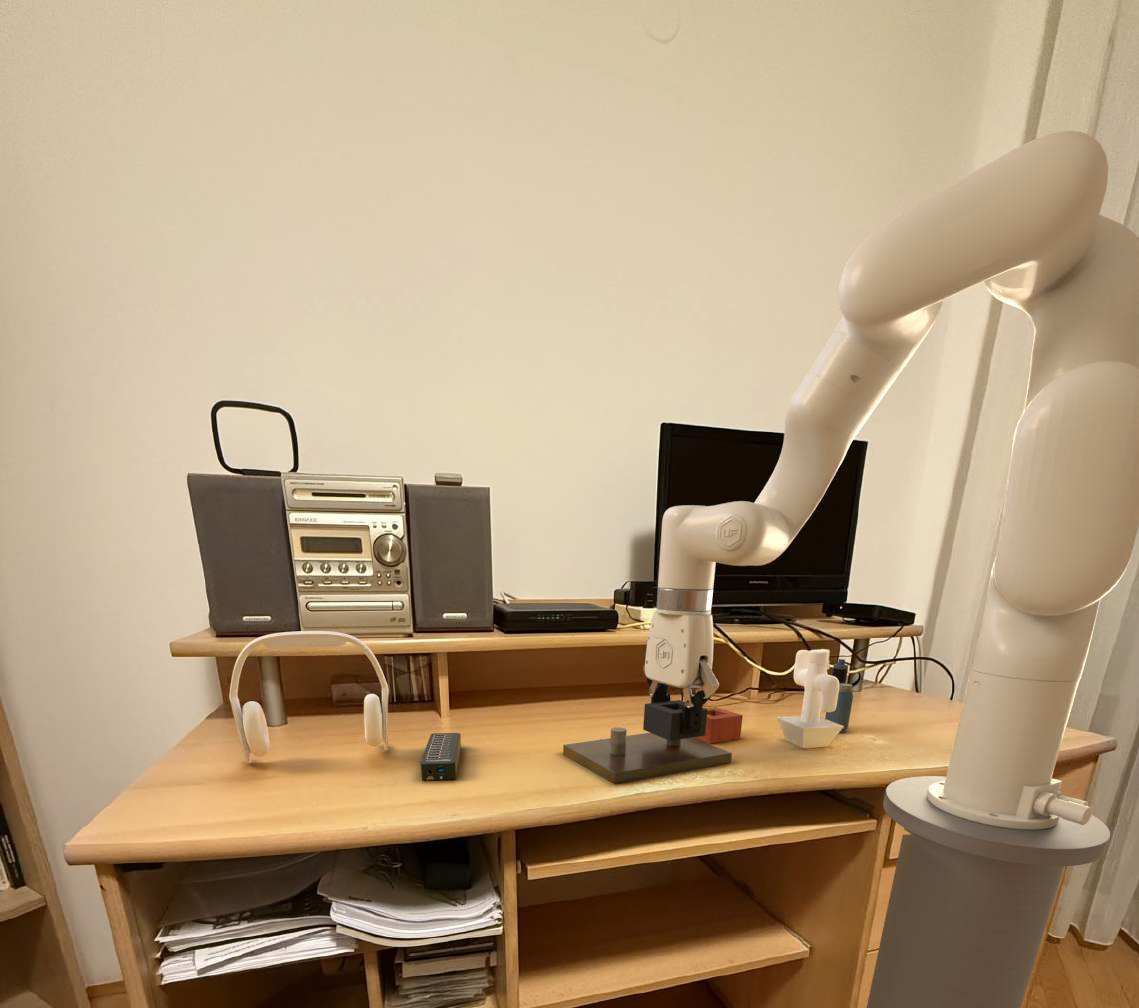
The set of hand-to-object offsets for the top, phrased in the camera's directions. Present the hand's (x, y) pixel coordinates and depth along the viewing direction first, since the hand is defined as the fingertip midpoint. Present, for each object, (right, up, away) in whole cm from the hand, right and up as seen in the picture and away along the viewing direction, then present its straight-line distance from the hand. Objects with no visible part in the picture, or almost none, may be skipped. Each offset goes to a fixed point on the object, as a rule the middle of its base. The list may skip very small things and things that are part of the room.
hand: (674, 726), depth 89 cm
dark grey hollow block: (0, -1, 0) cm, 1 cm away
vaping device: (+31, 0, +17) cm, 35 cm away
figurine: (+23, -3, +8) cm, 24 cm away
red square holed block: (+8, -1, +11) cm, 14 cm away
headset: (-51, -5, -4) cm, 51 cm away
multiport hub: (-33, -5, -4) cm, 34 cm away
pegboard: (-4, -5, -1) cm, 6 cm away
